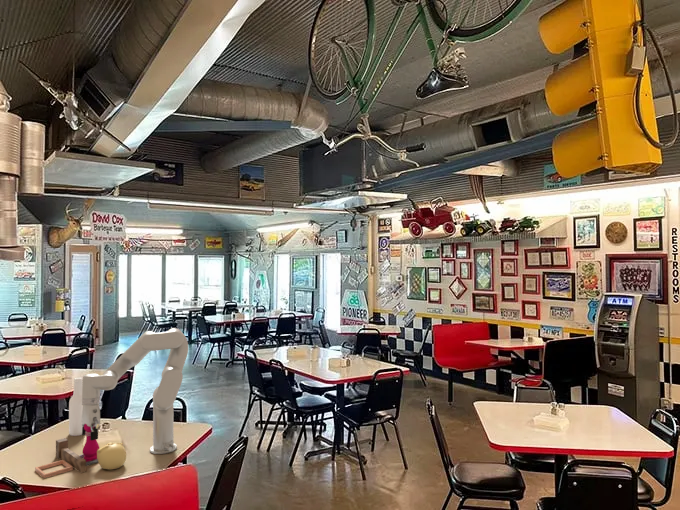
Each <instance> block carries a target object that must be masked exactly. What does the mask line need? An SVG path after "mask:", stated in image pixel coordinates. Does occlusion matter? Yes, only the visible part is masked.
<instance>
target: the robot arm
mask: <svg viewBox="0 0 680 510" xmlns="http://www.w3.org/2000/svg"><path fill="white" fill-rule="evenodd" d="M187 339H188V338H187V337H186V335H185V334H184V333H183V332H182V330H181V329H179V328H177V327H172V328H170V329H168V330H167V331H163V332H155V331H151V330H147V331H145V332H143V333H142V334H141V335H140V336H139V337H138V338H137V339H136V341H135V340H134V342H133V343H132V345H131V346H130V347H128V348H127V349H126V350H125V351H124V352H123V353H122V354H121V355H120V356H119V357H118V358H117V359H116V360H115V361H114V362H113V363H112V364H111V365H110V366H109V367H108V368H106V370H104V372H103V373H102V375H100V374H98V373H87V374H85V375H83V376H82V405H83V410H82V423H83V424H82V435H81V436H86V435H85V432H86V430H85V429H84V427H83V426H84V425H85V424H87V426H89V427H91V431H92V432H91V438H90V440H96V441H97V440H98V439H99V428H100V425H101V409H100V403H101V402H100V399H101V397H100V395H101V390H102V391H110V390H114V389H115V388H116V386H117V385H118V381H119V380H120V379H121V378H122V376H123V375H125V374H126V373H127V371H129V370H130V369H131V368H133V367H135V366H137V365H138V364H140V362H141V361H142V360H143V359H144V358H145V357H146V356H147V355H148V354H150V353H151V352H154V351H155V352H157V351H163V350H164V351H165V350H170V352H169V354H168V357H167V360H166V363H165V365H164V367H163V368H162V369H163V370H162V372H161V380H160V382H159V385H158V386H156V388H154V391H153V394H152V407H153V409H152V413H153V415H152V435H153V436H152V437H153V438H152V446H150V448H149V453H151V454H153V455H154V454H155V455H164V454H168V453H169V454H170V453H171V452H174V451H176V450H177V448H178V446H177V444H176V443H175V441H174V417H175V415H174V403H175V402H176V399H177V396H178V394H179V391H180V388H181V385H182V383H183V378H184V377H183V368H184V367H185V363H186V362H187V357H188V353H189V343H188V342H189V341H188V340H187ZM92 424H94V425H92ZM94 426H95V427H94ZM93 427H94V428H93Z"/></svg>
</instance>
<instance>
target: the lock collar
mask: <svg viewBox="0 0 680 510" xmlns="http://www.w3.org/2000/svg"><path fill="white" fill-rule="evenodd" d="M59 465H63V466H64V468H61V469H57V470H55V471H51V472H46V473H45V472H44V471H43V470H45V469H49V468H52V467H56V466H59ZM73 470H74V468H73V466H71V465H70V464H69V463H67V462H66V461H64V460H62V459H59V460H58V461H54V462H49V463H45V464H44V465H43V464H42V465H39V466H35V467H34V471H35V472H36V473H37V474H38V475H40V477H42V478H43V479H47V478H50V477H54V476H56V475H60V474H64V473H67V472H70V471H73ZM46 477H47V478H46Z"/></svg>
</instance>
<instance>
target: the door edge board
mask: <svg viewBox="0 0 680 510" xmlns="http://www.w3.org/2000/svg"><path fill="white" fill-rule="evenodd" d="M79 455H80V454H77V453H76V452H74V451H73V450H71V449H69V439H67V438H65V437H63V438H60V439H56V440H55V458H56V459H57V460H64V461H66V462H67V463H69V464H70V465H71V466H73V469H75V470H76V471H78V472H79V473H80V474H82V473H85V472H86V471H87V470H86V469H87V468H86V467H87V466H86V460H85V459H84V458H82V457H80V456H79Z"/></svg>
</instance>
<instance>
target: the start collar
mask: <svg viewBox="0 0 680 510" xmlns="http://www.w3.org/2000/svg"><path fill="white" fill-rule="evenodd" d="M78 455H79V456H80V457H82V458H83V459H84V456H85V455H84V454H83V453H82V454H78ZM97 463H98V464H99V462H98V459H95V460H91V461H88V462H86V467H88V466H91V465H94V464H97Z"/></svg>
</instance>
